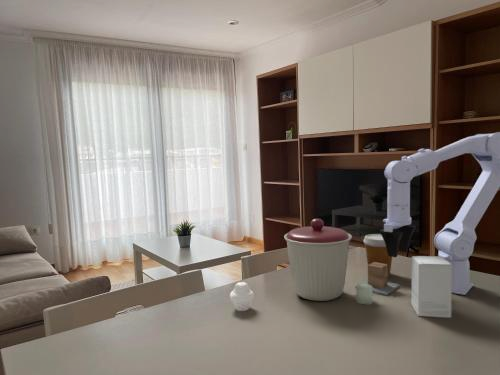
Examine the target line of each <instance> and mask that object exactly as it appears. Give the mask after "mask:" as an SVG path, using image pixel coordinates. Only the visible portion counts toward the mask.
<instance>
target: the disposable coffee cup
mask: <svg viewBox="0 0 500 375" xmlns="http://www.w3.org/2000/svg"><path fill="white" fill-rule="evenodd" d="M362 241H363V243H364V247H365V253H366V254H365V255H366V256H365V257H366V261H367V266H368V265H369V264H371V263H373V262H376V263H382V264H387V278H388V277H390V276H391V268H392V261H393V257H391V256H388V253H387V248H386V245H385V242H384V239H383V237H382V235H381V234H380V233H373V234H372V233H371V234H367V235H365V236H364V238H363V240H362Z"/></svg>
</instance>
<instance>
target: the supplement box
mask: <svg viewBox="0 0 500 375" xmlns="http://www.w3.org/2000/svg"><path fill="white" fill-rule="evenodd" d="M451 283H452V264H450V263H449V262H448V261H447V260H446V259H444V258H443V257H442V256H438V255H437V256H436V255H435V256H434V255H433V256H431V255H428V256H427V255H414V256H413V255H412V256H411V301H410V302H411V305H412V308H413V309H414V311H415V312H416V314H417V316H418V317H434V318H449V319H450V318H452V292H451Z"/></svg>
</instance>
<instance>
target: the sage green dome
mask: <svg viewBox="0 0 500 375" xmlns="http://www.w3.org/2000/svg"><path fill="white" fill-rule="evenodd" d="M355 289H356V293H355V294H356V295H355V296H356V297H355V298H356V300H355V301H356V303H358V304H360V305H371V304H373V292H372V286H371V285H369V284H361V283H359V284H356V286H355Z"/></svg>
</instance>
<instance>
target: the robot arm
mask: <svg viewBox="0 0 500 375" xmlns="http://www.w3.org/2000/svg"><path fill="white" fill-rule="evenodd" d="M464 154H471V155H472V157H474V159H475V160H476V161H477V162H478V164H479V165H480V167H481V169H482V171H481V173H480V175H479V176H478V178H477V179H476V182H475V184H474V186H473V187H472V189H471V190H470V192H469V193H468V195H467V197H466V198H465V200H464V202H463V204H462V205H461V207H460V209H459V211H458V212H457V213H456V216H454V219H453V220H452V221H450V222H448V223H445V225H444V227H443V228H442V229H441V230H439V231H438V232H437V233H436V234H435V236H434V237H433V238H434V239H433V243H434V244H433V245H434V246H435V248H436V249H437V250H438V251H437V252H438V254H437V256H442V257H443V258H444V259H446V260H447V261H448V262H449V263H450V264H452V283H451V294H458V295H462V296H463V295H467V293H468V292H469V291H470V290H471V289H472V287H473V286H474V283H473V282H471V283H470V266H471V265H470V260H469V258H470V257H471V256H472V254H473V252H474V247H475V244H476V241H477V238H478V237H477V234H476V230H475V229H476V227H477V226H478V224H479V222H480V221H481V219H482V218H483V216H484V214H485V212H486V211H487V209H488V207H489V205H490V204H491V202H492V201H493V199H494V198H495V195H496V194H497V193H498V191H499V189H500V131H499V132H497V131H496V132H494V133H477V134H475V135H471V136H467V137H465V138H462V139H459V140H458V141H455V142H453V143H450V144H448V145H445V146H443V147H441V148H438V149H437V150H432V149H430V148H420V149H418V150H417V152H416V153H413V154H411V155H408V156H407V155H403V156H401V160H392V161H390V162H389V163H388V164H387V165H386V167H385V170H384V171H383V174H384V177H385V178H386V180H387V189H386V190H387V192H386V194H387V199H386V200H387V201H386V203H387V206H386V208H387V210H386V211H387V212H386V214H387V215H386V218H384V219H382V222H383V223H384V224H383V228H382V229H380V230H379V231H380V232H379V234H381V235H382V237H383V239H384V242H385V245H386V248H387V253H388V256H391V257H392V258H397V257H398V253H399V252H400V251H401V252H408V250H409V247H410V242H411V239H412V236H413V234H414V231H415V230H416V228H417V227H416V225H412V217H411V181H412V180H413V178H414V177H418V176H420V175H422V174H425V173H428V172H430V171H433V170H435V169H437V168H438V167H439V164H440V163H441V162H444V161H448V160H449V159H450V160H451V159H452V158H456V157H458V156H462V155H464Z"/></svg>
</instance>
